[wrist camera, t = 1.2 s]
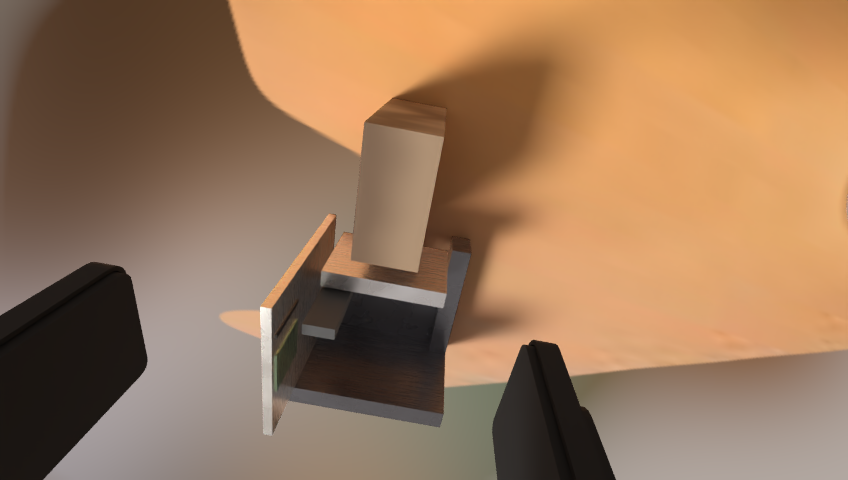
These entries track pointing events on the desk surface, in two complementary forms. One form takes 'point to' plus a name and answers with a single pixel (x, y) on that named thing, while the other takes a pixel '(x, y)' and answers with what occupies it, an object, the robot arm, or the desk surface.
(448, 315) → the stand
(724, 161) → the desk surface
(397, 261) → the push block
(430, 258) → the plate
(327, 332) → the dark flat plank
